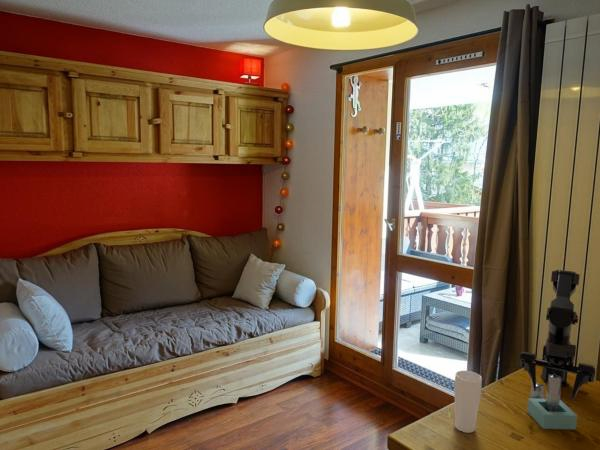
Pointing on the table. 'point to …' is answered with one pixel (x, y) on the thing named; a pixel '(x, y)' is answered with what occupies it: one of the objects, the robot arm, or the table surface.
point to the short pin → (537, 391)
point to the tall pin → (553, 393)
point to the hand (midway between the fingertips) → (553, 395)
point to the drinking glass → (467, 400)
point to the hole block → (551, 415)
